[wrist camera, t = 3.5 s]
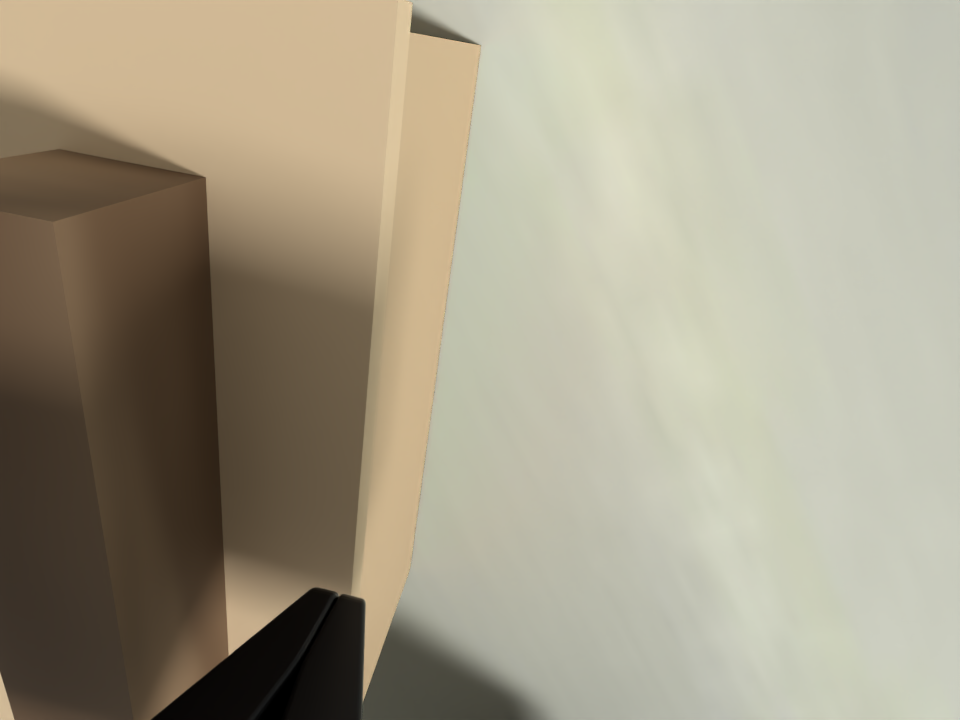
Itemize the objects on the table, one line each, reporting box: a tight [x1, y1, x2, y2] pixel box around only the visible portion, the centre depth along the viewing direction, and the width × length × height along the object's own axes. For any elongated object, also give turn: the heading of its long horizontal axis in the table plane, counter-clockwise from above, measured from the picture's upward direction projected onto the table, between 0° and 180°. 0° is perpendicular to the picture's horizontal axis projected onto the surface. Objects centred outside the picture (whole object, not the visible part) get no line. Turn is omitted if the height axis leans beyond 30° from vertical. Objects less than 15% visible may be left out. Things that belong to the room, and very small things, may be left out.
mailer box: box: [360, 32, 481, 701], centre depth 15 cm, size 20×16×7 cm
